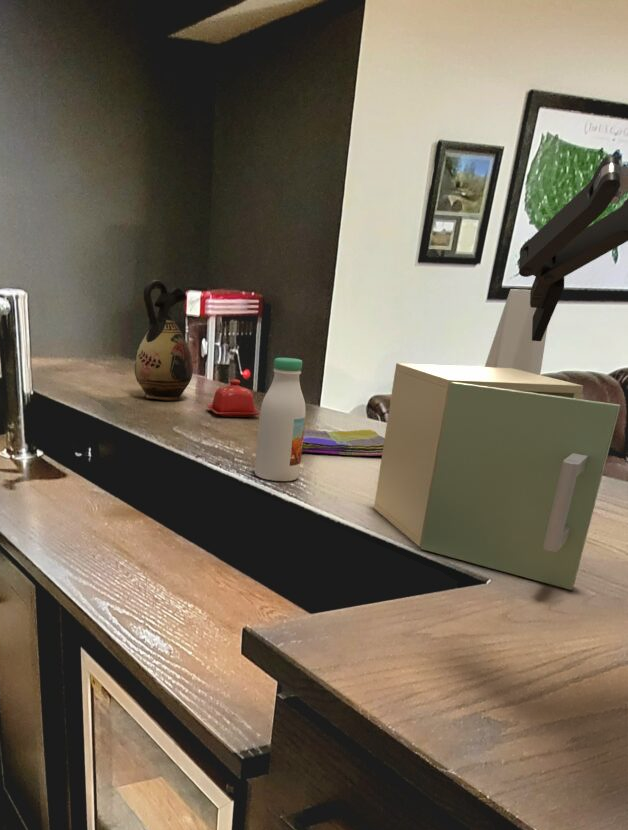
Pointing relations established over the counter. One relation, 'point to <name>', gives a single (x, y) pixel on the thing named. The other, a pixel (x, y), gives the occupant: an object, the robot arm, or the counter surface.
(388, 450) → the cupboard
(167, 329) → the ceramic jug
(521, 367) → the tall faceted taper
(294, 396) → the milk bottle
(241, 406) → the butter dish
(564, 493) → the cupboard door
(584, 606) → the counter surface
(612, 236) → the robot arm
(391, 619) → the counter surface
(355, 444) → the dish towel
